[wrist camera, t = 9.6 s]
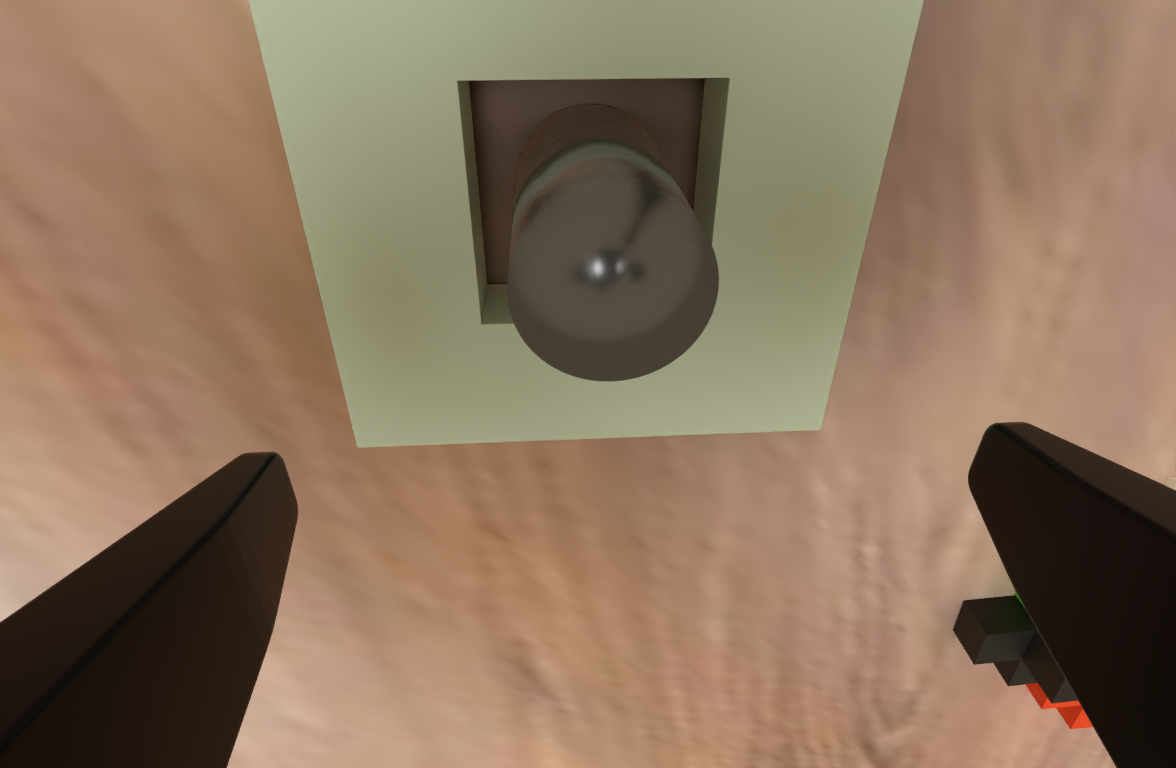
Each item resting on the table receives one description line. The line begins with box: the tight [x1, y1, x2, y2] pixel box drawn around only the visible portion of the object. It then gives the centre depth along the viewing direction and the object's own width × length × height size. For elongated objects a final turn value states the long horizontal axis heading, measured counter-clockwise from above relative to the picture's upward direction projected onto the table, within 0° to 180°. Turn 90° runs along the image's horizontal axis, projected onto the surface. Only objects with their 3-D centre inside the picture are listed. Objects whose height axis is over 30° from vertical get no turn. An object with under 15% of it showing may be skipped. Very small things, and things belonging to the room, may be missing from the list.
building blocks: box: [953, 477, 1176, 729], centre depth 29 cm, size 15×13×4 cm
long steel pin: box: [507, 104, 719, 382], centre depth 16 cm, size 4×4×7 cm
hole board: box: [249, 0, 924, 448], centre depth 17 cm, size 14×14×2 cm
